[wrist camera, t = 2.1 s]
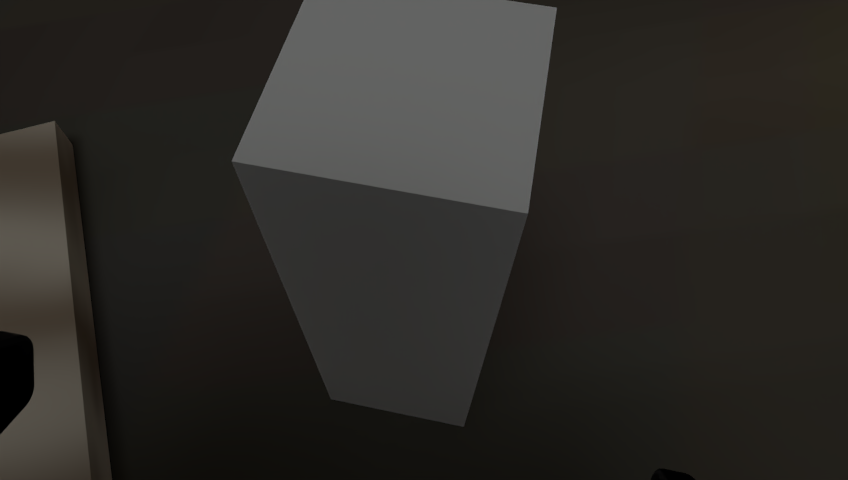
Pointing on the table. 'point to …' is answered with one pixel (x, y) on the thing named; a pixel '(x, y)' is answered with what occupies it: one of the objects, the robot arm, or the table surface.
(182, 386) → the table surface
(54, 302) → the oak plinth
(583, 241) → the table surface
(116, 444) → the table surface
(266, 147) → the tall grey block
